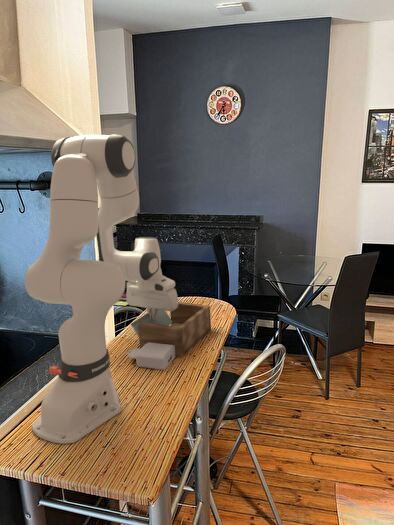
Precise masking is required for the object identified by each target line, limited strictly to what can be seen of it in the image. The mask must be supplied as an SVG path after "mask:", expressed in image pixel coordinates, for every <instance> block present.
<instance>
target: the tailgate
mask: <svg viewBox="0 0 394 525" xmlns="http://www.w3.org/2000/svg"><path fill="white" fill-rule="evenodd" d="M140 321H141V322H148V323H154V324H160V325H166V326H171V323H173V322H172V320H171V316H170V315H169V314H168V311H165V310H158V311H157V313H156V319H155V320H151V319H150V315H149V313H148V312H147V313H146V314H144V315H142V316H141V317H139V318H138V319H136V320H134V321H133V322H131V323H130V325H131V327H132V328H133V330H134V331H135V333H136V334H137V336H138V337H139V331H138V323H139V322H140Z"/></svg>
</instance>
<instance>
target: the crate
mask: <svg viewBox="0 0 394 525" xmlns="http://www.w3.org/2000/svg"><path fill="white" fill-rule="evenodd" d="M169 312H170V313H169V314H170V315H169V316H170V319H171V320H172V322H173V323H171V324H170V325H168V326H166V325H160V324H154V323H148V322H141V321H140V322H139V323H138V331H139V336H138V338H139V339H138V340H139V349H141V348H142V347H143V346H144V345H145V344H147V343H159V344H169V345H175V357H178V358H184V357H185V355H186V354H187V353H189V351H191V350H192V349H193V348H194V347H195V346H196V345H197V344H199V342H200V341H202V339H204V338H205V337H206V336H207V335H208V334H209V333H210V332H211V331H212V323H211V320H212V319H211V306H210V305H205V304H197V303H190V302H189V303H188V302H183V301H178V307H177V309H175V310H174V311H169Z"/></svg>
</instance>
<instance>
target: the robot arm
mask: <svg viewBox="0 0 394 525" xmlns="http://www.w3.org/2000/svg"><path fill="white" fill-rule="evenodd" d="M50 161H51V164H52V167H53V170H52V174H51V181H50V191H49V192H50V194H49V196H50V197H49V232H48V237H47V240H46V244H45V246H44V249H43V250H42V252H41V254H40V256H39V257H38V258H37V260H35V262H33V263H32V264H31V265H30V266H29V268H28V269H27V271H26V273H25V276H24V287H25V291H26V292H27V294H28V295H29V297H31V298H32V299H35V300H38V301H41V302H44V303H47V304H55V305H70V306H71V307H72V316H71V317H70V318H68V319H66V320H65V321H64V322H63V323H62V324H61V326H60V328H59V329H58V334H57V335H58V340H59V341H58V342H59V347H60V348H59V349H60V355H61V358H60V362H59V366H55V365H52V366H50V368H49V371H48V372H49V374H50V375H54V376H58V377H57V378H56V379H55V381H54V383H53V384H52V386H51V387H50V389H49V391H48V393H46V394H45V395H46V396H45V397H44V398H43V400H42V402H41V405H40V416H39V417H38V418H37V419H36V420H35V421H34V422H33V423H32V425H31V429H32V432H33V434H34V435H36V436H37V437H38V438H41V439H43V440H45V441H48V442H50V443H51V442H52V443H55V444H56V443H57V444H65V445H66V444H73V443H76V442H79V440H81V439H82V438H84V437H85V436H86V435H88V434H90V433H91V432H93V431H94V430H96V429H97V428H99V427H100V426H101V425H103V424H104V423H106V422H107V421H109V420H111V419H112V418H113V417H115V416H116V415H117V414H119V413H120V412H122V406H121V403H120V396H119V393H118V392H117V389H116V387H115V383H114V379H113V376H112V373H111V372H112V371H111V369H110V366H111V358H110V357H111V356H110V353H109V349H107V342H106V320H107V316H108V313H109V311H110V310H111V308H112V307H113V306H115V305H116V304H117V303H119V301H120V300H121V299H122V297H123V296H124V293H125V290H126V296H125V297H126V303H127V305H129V306H131V307H132V306H133V307H139V308H145V309H146V312H147V313H149V315H150V319H151V320H155V319H156V313H157V311H158V310H165V311H166V312H170V311H174V310H175V309H177V307H178V302H179V298H178V294H177V289H176V288H175V287H176V281H175V280H173V279H171V278H169V277H167V276H165V275H163V272H162V268H161V263H162V257H161V256H162V255H161V249H160V245H159V241H158V239H157V238H156V237H154V236H139V237H136V238H135V240H134V250H133V251H129V250H128V251H122V250H118V249H117V248H115V243H114V233H113V228H114V226H115V225H118V224H120V223H123V222H124V221H126V220H128V219H130V218H131V217H133V215H134V214H135V213H136V212H137V211H138V208H139V206H140V194H139V190H138V185H137V182H136V177H135V174H134V172H133V170H134V168H135V165H136V151H135V148H134V145H133V143H132V142H131V141H130V140H129V139H128V138H127V136H124V135H121V134H115V133H114V134H110V135H107V134H84V135H76V136H73V137H70V136H68V137H64V138H60V139H58V140H56V142H55V143H54V144H53V146H52V148H51V150H50ZM99 198H100V205H99ZM95 238H96V242H97V251H98V260H97V259H96V260H94V259H93V260H92V259H91V260H90V259H89V260H88V259H80V256H81V254H82V251H83V248H84V247H85V246H86V245H87V244H88V243H91V242H92V241H93V240H95Z"/></svg>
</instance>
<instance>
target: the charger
mask: <svg viewBox="0 0 394 525" xmlns="http://www.w3.org/2000/svg"><path fill="white" fill-rule="evenodd" d="M124 355H128V359H135V360H136V365H137V367H139V368H146V369H155V370H162V371H166V369H167V368H168V367H169V365H171V363H172V362H173V360H174V359H175V358H176V356H175V345H169V344H159V343H147V344H145V345H144V346H143V347H142V348H141V349H140V347H139V348H138V347H135V348H134V347H133V348H132V349H131V350H129V349H128V350H127V352H125V353H124Z"/></svg>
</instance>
